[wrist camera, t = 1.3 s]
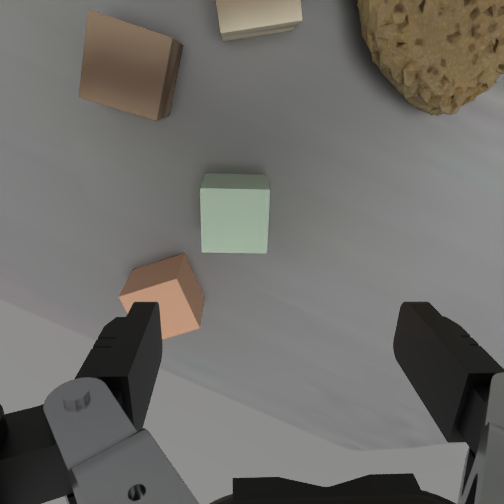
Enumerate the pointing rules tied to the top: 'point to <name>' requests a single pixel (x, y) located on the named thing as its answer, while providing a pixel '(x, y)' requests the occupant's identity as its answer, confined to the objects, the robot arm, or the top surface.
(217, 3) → the maple block
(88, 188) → the top surface
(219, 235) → the sage block
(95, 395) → the robot arm
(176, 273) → the terracotta block
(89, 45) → the walnut block
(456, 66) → the sponge
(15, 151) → the top surface
